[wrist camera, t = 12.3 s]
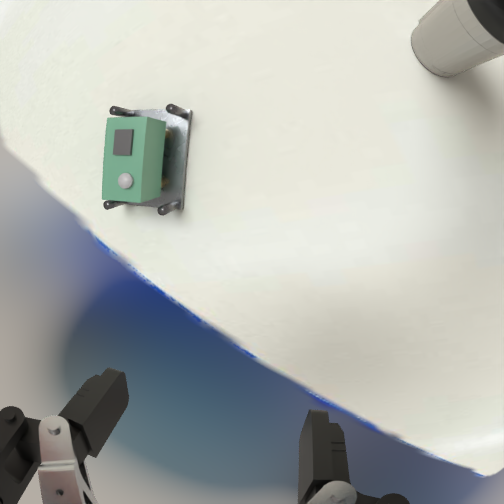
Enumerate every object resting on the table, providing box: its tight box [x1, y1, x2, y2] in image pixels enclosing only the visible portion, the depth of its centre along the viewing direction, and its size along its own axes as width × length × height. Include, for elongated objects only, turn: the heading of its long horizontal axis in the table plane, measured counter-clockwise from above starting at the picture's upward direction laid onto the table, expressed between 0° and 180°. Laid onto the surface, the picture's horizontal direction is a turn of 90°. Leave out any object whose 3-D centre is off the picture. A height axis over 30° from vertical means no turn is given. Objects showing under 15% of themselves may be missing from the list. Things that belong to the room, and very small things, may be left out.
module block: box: [102, 117, 167, 203], centre depth 35 cm, size 10×6×7 cm, turn 174°
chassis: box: [104, 104, 192, 215], centre depth 39 cm, size 14×10×6 cm
